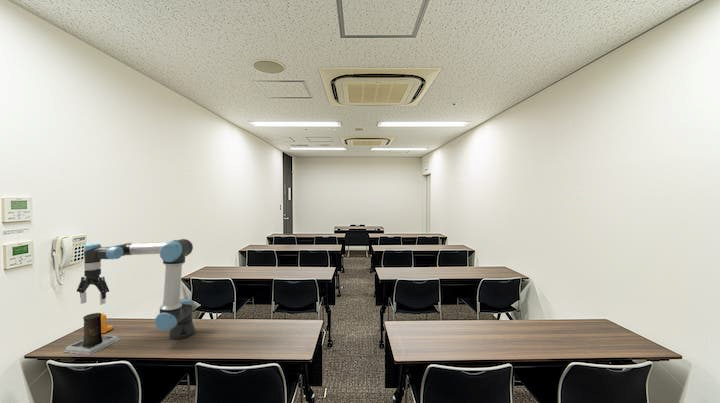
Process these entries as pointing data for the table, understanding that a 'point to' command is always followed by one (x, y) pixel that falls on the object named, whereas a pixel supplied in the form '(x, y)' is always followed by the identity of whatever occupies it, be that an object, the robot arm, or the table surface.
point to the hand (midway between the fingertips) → (93, 303)
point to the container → (92, 330)
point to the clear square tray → (79, 349)
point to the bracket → (104, 324)
